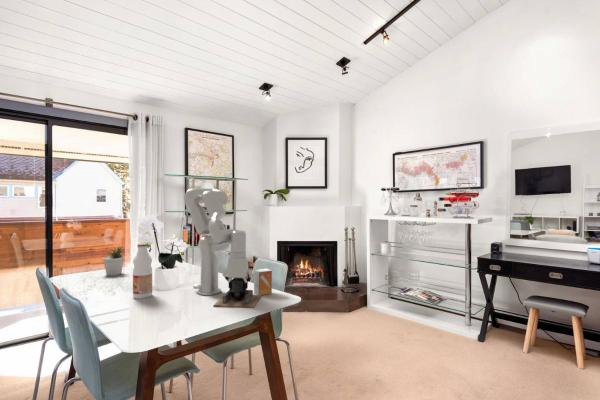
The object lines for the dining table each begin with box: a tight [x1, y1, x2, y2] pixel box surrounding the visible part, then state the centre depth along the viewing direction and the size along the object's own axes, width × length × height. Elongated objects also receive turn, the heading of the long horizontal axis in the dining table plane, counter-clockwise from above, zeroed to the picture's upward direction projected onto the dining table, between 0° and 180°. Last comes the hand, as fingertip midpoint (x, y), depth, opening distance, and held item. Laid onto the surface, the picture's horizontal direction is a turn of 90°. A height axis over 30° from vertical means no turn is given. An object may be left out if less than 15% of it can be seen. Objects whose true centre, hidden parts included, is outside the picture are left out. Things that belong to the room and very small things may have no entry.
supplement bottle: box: [231, 278, 245, 299], centre depth 175 cm, size 7×7×12 cm
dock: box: [212, 289, 262, 309], centre depth 175 cm, size 20×18×4 cm
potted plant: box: [102, 244, 126, 277], centre depth 233 cm, size 13×14×20 cm
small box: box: [253, 268, 273, 296], centre depth 189 cm, size 8×6×13 cm
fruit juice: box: [132, 243, 153, 299], centre depth 183 cm, size 9×9×28 cm
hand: (238, 289), depth 175 cm, fingers closed on supplement bottle, 6 cm apart
